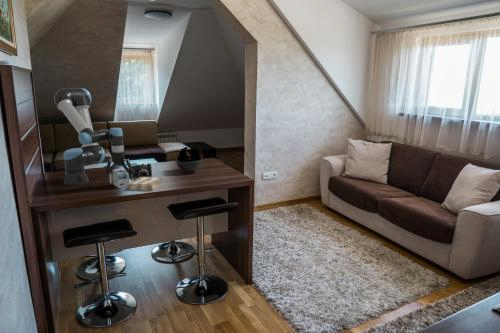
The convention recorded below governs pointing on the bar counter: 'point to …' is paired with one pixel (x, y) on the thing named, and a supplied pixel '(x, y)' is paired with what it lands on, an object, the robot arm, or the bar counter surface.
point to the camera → (142, 170)
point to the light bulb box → (120, 178)
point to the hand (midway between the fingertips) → (120, 183)
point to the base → (145, 183)
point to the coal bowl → (188, 160)
